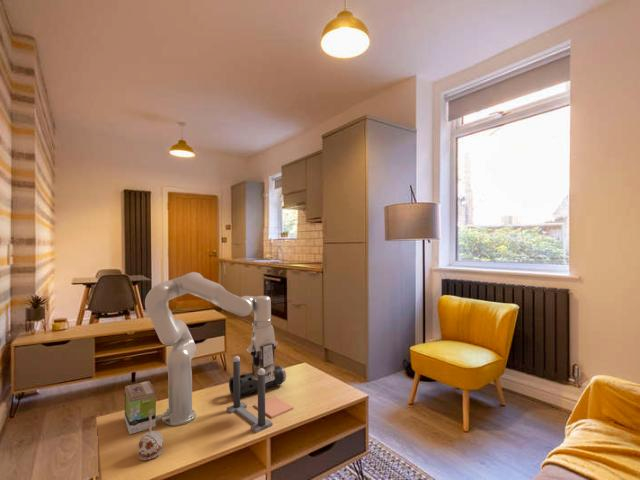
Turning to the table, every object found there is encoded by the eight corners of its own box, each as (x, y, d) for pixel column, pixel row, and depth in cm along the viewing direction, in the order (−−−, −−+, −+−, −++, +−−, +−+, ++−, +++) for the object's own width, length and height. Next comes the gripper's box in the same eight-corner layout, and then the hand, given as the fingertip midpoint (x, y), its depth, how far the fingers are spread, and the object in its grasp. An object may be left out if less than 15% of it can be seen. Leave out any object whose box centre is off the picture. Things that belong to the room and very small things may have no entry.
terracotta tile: (271, 418, 143) (271, 416, 143) (253, 406, 154) (253, 404, 154) (293, 408, 151) (293, 407, 152) (274, 397, 163) (274, 396, 163)
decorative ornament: (133, 460, 116) (132, 417, 116) (147, 447, 124) (147, 406, 124) (153, 462, 115) (153, 419, 115) (166, 449, 123) (166, 408, 123)
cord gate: (255, 433, 132) (255, 372, 133) (226, 410, 151) (226, 357, 151) (272, 425, 138) (272, 367, 138) (242, 404, 156) (242, 353, 156)
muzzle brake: (228, 394, 167) (228, 374, 167) (278, 381, 182) (278, 362, 183) (235, 402, 159) (235, 380, 159) (286, 387, 175) (286, 367, 175)
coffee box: (275, 379, 149) (274, 343, 149) (263, 384, 144) (263, 346, 144) (263, 374, 155) (262, 339, 155) (251, 378, 150) (251, 342, 150)
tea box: (156, 426, 138) (156, 391, 138) (129, 435, 132) (129, 398, 132) (149, 412, 150) (149, 379, 150) (124, 419, 144) (123, 385, 144)
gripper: (249, 328, 141) (250, 370, 141) (283, 321, 153) (283, 360, 153) (241, 325, 147) (241, 366, 147) (274, 319, 158) (274, 356, 158)
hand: (263, 362), depth 150 cm, fingers closed on coffee box, 6 cm apart
